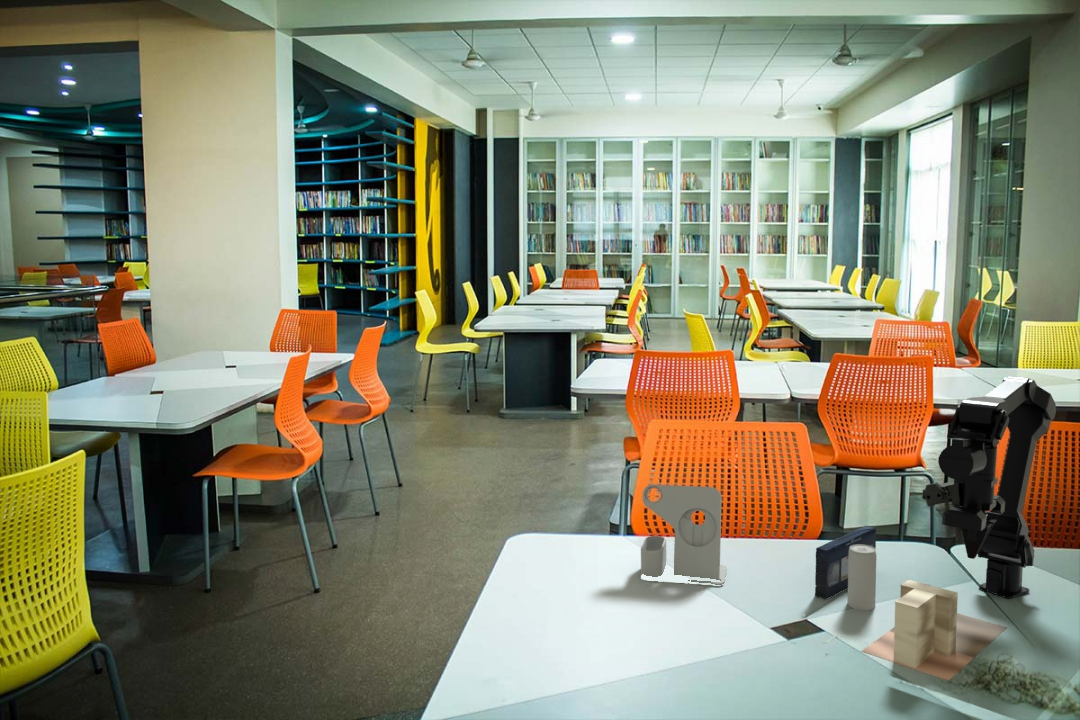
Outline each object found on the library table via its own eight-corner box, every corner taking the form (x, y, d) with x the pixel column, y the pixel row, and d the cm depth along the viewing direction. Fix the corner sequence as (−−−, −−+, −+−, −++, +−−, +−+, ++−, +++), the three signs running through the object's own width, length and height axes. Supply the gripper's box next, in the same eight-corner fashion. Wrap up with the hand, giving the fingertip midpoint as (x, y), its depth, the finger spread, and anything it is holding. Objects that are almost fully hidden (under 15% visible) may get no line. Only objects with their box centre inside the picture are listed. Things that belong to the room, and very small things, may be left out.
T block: (907, 635, 148) (908, 579, 147) (955, 650, 143) (957, 592, 141) (879, 656, 142) (881, 597, 140) (929, 673, 136) (931, 611, 134)
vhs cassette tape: (825, 600, 167) (826, 550, 165) (812, 596, 169) (812, 546, 168) (877, 575, 178) (878, 528, 177) (864, 571, 180) (865, 524, 179)
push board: (925, 610, 161) (925, 604, 160) (1007, 633, 151) (1007, 627, 150) (861, 657, 144) (861, 651, 144) (948, 687, 134) (948, 680, 133)
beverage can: (877, 617, 159) (878, 553, 157) (849, 615, 160) (850, 552, 158) (872, 606, 163) (874, 544, 162) (845, 604, 164) (846, 543, 163)
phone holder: (637, 580, 179) (636, 495, 176) (645, 562, 189) (643, 481, 186) (724, 587, 174) (724, 500, 172) (727, 568, 184) (727, 485, 181)
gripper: (943, 457, 166) (938, 538, 168) (913, 472, 152) (908, 560, 153) (1008, 466, 159) (1002, 550, 161) (983, 482, 145) (977, 574, 146)
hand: (971, 558), depth 155 cm, fingers closed
